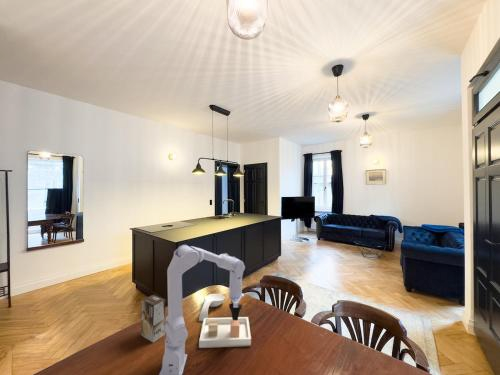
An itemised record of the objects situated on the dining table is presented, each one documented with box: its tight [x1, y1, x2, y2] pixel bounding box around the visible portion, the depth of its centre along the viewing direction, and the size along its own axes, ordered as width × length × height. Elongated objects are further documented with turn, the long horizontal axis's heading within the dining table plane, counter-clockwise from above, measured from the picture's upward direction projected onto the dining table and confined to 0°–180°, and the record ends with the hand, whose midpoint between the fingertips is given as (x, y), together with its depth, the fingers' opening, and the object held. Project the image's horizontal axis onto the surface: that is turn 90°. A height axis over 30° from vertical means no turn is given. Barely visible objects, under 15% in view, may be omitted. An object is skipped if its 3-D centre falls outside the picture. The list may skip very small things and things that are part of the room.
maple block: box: [208, 320, 218, 337], centre depth 99 cm, size 4×4×5 cm
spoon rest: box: [198, 293, 226, 322], centre depth 120 cm, size 24×12×7 cm, turn 172°
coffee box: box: [140, 294, 166, 343], centre depth 97 cm, size 9×6×16 cm
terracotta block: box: [230, 321, 240, 337], centre depth 99 cm, size 4×4×5 cm
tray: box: [198, 316, 252, 349], centre depth 99 cm, size 16×22×3 cm
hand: (234, 314), depth 99 cm, fingers open, 7 cm apart
